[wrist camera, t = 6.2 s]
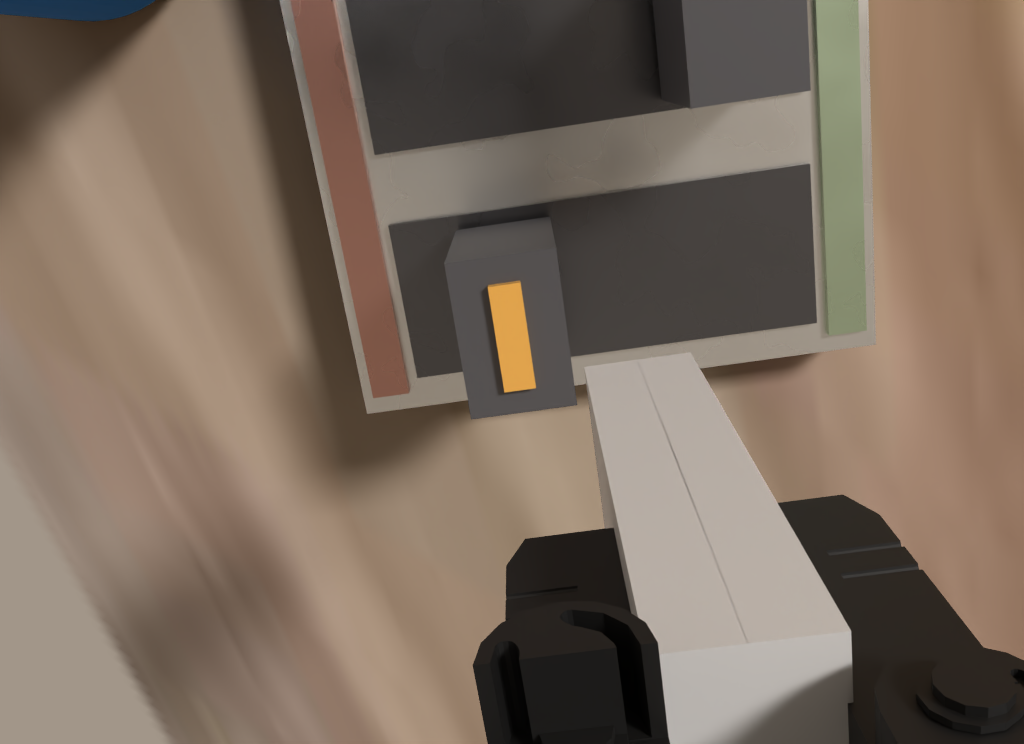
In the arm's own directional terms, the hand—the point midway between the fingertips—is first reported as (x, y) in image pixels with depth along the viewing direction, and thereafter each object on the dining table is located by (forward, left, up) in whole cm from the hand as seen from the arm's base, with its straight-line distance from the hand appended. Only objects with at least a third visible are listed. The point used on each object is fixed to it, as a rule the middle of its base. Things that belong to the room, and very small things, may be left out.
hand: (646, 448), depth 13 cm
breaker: (-6, +3, -11) cm, 13 cm away
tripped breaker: (0, -2, -11) cm, 11 cm away
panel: (-6, 0, -14) cm, 15 cm away
